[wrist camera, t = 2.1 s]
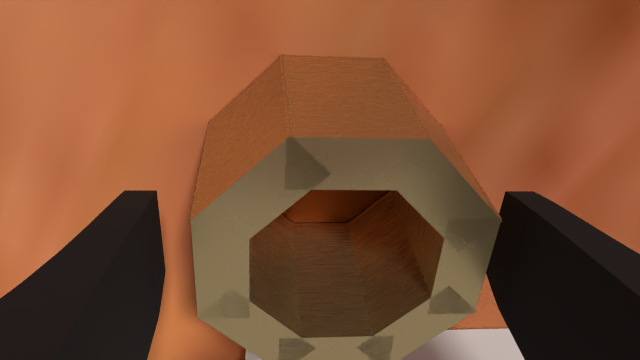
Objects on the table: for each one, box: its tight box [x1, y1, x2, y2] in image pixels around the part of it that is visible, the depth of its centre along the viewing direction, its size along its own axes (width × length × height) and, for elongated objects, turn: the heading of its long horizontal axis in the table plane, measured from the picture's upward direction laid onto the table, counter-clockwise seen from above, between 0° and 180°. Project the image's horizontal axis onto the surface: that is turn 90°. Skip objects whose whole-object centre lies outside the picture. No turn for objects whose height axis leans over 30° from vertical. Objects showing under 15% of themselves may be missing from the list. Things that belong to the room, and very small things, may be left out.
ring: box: [189, 55, 502, 360], centre depth 12 cm, size 6×6×4 cm
